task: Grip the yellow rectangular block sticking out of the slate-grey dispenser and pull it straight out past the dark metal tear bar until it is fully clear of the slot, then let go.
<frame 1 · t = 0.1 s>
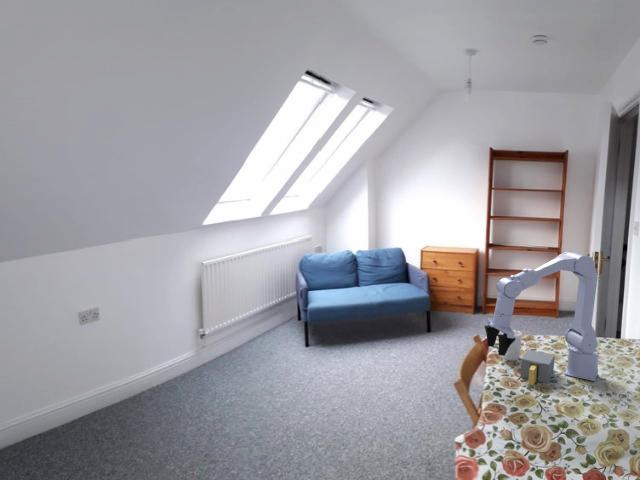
hand: (495, 350, 166), 10 cm above the table, tool pointing down, fingers open, 7 cm apart
dispenser: (536, 374, 170), on the table
yellow rectangular block: (534, 372, 166), point 3 cm above the table, slide at 0.0 cm
white cup: (509, 357, 186), on the table
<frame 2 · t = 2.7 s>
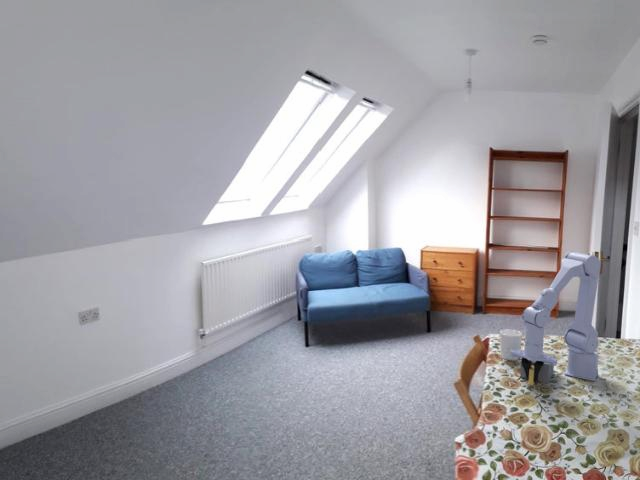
hand: (531, 380, 163), 1 cm above the table, tool pointing down, fingers closed on yellow rectangular block
yellow rectangular block: (534, 372, 166), point 3 cm above the table, slide at 0.0 cm, touching gripper
everything else where it was.
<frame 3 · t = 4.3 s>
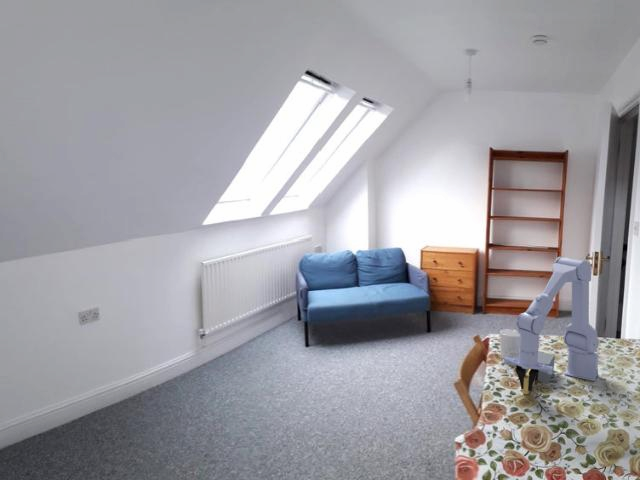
hand: (526, 389, 157), 1 cm above the table, tool pointing down, fingers closed on yellow rectangular block
yellow rectangular block: (529, 380, 159), point 3 cm above the table, slide at 7.7 cm, touching gripper
everything else where it was.
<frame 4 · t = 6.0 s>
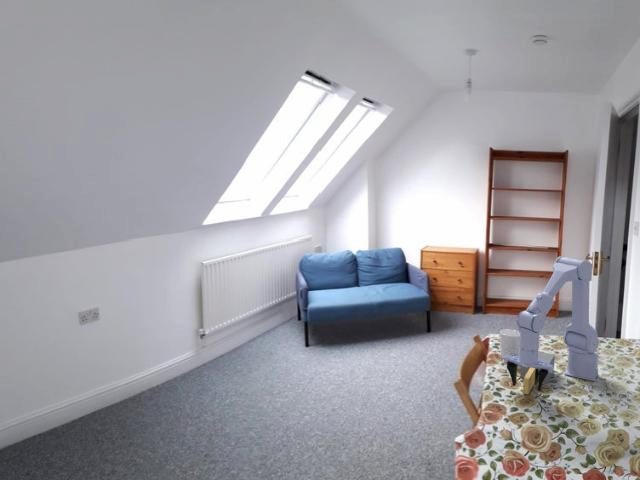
hand: (526, 387, 157), 2 cm above the table, tool pointing down, fingers open, 7 cm apart
yellow rectangular block: (529, 380, 159), point 3 cm above the table, slide at 7.7 cm
everything else where it was.
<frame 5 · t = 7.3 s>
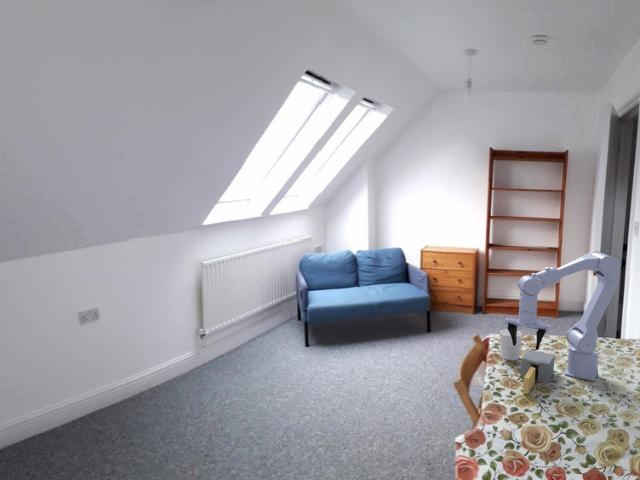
hand: (525, 347, 170), 10 cm above the table, tool pointing down, fingers open, 7 cm apart
nothing on the table moved.
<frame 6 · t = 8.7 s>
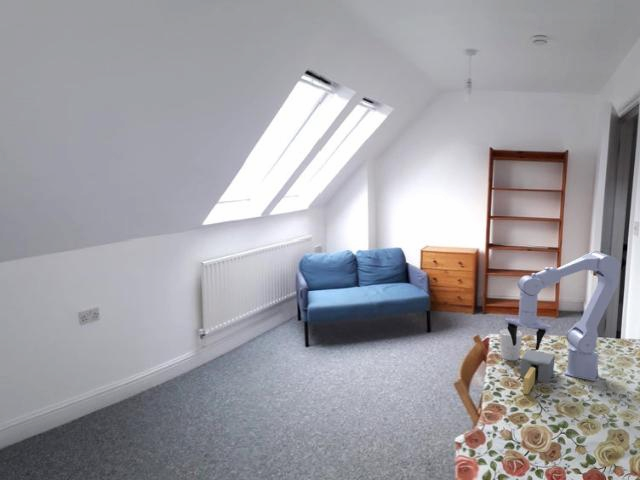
hand: (525, 346, 170), 10 cm above the table, tool pointing down, fingers open, 7 cm apart
nothing on the table moved.
at the end: yellow rectangular block slide at 7.7 cm; the gripper is holding nothing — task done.
